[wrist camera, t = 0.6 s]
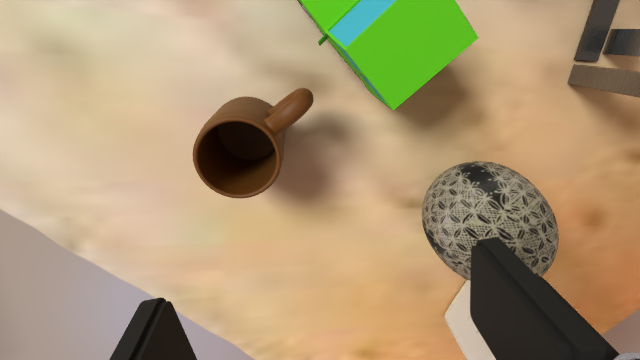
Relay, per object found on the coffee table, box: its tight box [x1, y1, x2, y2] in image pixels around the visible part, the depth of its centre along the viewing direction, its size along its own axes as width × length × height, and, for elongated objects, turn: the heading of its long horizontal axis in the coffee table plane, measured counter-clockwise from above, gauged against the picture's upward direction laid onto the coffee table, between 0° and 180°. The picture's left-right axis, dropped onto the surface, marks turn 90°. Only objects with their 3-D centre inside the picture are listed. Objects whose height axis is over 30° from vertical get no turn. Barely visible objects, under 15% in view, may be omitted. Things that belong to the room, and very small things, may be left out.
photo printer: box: [444, 280, 496, 360], centre depth 44 cm, size 10×4×12 cm, turn 157°
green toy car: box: [298, 0, 478, 110], centre depth 29 cm, size 10×13×10 cm
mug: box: [193, 88, 313, 198], centre depth 33 cm, size 12×8×9 cm, turn 129°
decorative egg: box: [422, 161, 558, 281], centre depth 36 cm, size 12×12×15 cm
